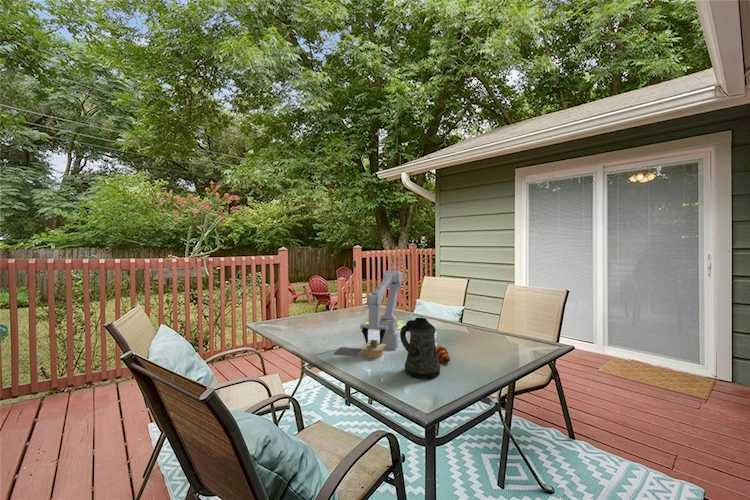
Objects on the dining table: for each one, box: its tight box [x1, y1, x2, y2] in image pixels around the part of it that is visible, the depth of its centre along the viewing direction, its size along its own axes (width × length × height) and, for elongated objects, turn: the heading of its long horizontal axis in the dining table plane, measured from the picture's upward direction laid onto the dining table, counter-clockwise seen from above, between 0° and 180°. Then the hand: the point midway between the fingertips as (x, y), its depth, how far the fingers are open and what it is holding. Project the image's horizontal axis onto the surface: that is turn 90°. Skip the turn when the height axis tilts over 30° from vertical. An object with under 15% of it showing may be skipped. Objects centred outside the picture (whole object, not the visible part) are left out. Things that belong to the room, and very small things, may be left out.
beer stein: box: [399, 317, 441, 380], centre depth 158 cm, size 16×19×25 cm
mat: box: [332, 346, 362, 358], centre depth 186 cm, size 13×13×1 cm
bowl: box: [364, 349, 384, 359], centre depth 181 cm, size 9×9×4 cm
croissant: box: [435, 345, 451, 363], centre depth 179 cm, size 21×10×8 cm, turn 21°
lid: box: [360, 339, 386, 353], centre depth 181 cm, size 11×11×4 cm
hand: (373, 343), depth 180 cm, fingers open, 7 cm apart
